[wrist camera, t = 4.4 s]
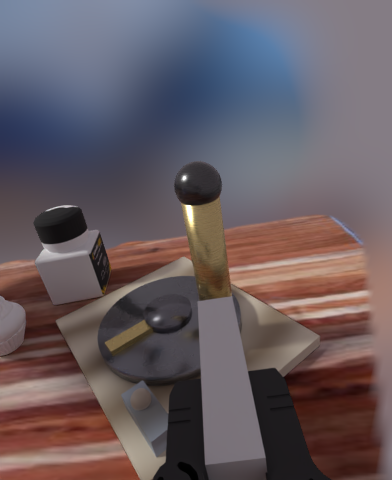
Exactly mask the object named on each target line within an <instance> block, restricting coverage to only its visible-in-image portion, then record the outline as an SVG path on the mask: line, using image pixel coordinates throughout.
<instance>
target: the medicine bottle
mask: <svg viewBox="0 0 392 480" xmlns="http://www.w3.org/2000/svg"><path fill="white" fill-rule="evenodd" d="M34 226H35V228H36V231H37V233H38V236H39V238H40V240H41V243H42V245H43V247H44V249H43V251H42V252H41V254H40V255H39V257H38V258H37V259H36V261H35V265H36V267H37V269H38V272H39V274H40V276H41V278H42V281H43V283H44V285H45V287H46V290H47V292H48V294H49V296H50V298H51V301H52V303H53V304H54V305H59V304H65V303H70V302H76V301H81V300H87V299H92V298H98V297H103V296H104V295H105V292H106V288H107V284H108V281H109V277H110V273H111V266H110V263H109V260H108V257H107V254H106V250H105V247H104V244H103V241H102V238H101V235H100V232H99V230H93V231H88V228H87V225H86V222H85V219H84V216H83V213H82V210H81V209H80V208H79V207H77V206H70V205H65V206H59V207H55V208H52V209H49V210H47V211H44V212H43V213H41V214H40V215H39V216H38V217H37V218H36V219H35V221H34Z"/></svg>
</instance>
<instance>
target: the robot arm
mask: <svg viewBox="0 0 392 480" xmlns="http://www.w3.org/2000/svg"><path fill="white" fill-rule="evenodd" d="M198 321H199V343H200V365H201V378H200V379H192V380H185V381H177V382H175V384H174V387H173V389H172V391H171V393H170V395H169V413H168V428H167V445H166V462H165V463H164V464H163V465H161V466H160V467H159V469H158V470H157V472H156V474H155V475H154V477H153V480H331V479H329V478H328V477H326V476H325V475H324V474H323V473H322V472H321V471H320V470H319V469H318V468H317V467H316V465H315V464H314V463H313V461H312V459H311V456H310V454H309V451H308V448H307V445H306V442H305V439H304V436H303V433H302V430H301V427H300V423H299V420H298V417H297V414H296V411H295V409H294V405H293V402H292V399H291V396H290V393H289V390H288V387H287V384H286V381H285V379H284V377H283V376H282V375H281V374H280V373H279V372H278V370H277V369H276V368H268V369H260V370H253V371H248V370H247V365H246V360H245V356H244V351H243V346H242V341H241V336H240V331H239V327H238V322H237V317H236V312H235V307H234V303H233V298H232V296H230V297H223V298H217V299H210V300H203V301H198Z"/></svg>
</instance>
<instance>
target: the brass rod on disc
mask: <svg viewBox="0 0 392 480" xmlns="http://www.w3.org/2000/svg"><path fill="white" fill-rule="evenodd" d="M174 187H175V193H176V195H177V197H178V199H179V200H180V202H181V204H182V210H183V216H184V220H185V226H186V231H187V237H188V242H189V248H190V253H191V259H192V264H193V269H194V275H195V276H175V277H168V278H164V279H159V280H156V281H153V282H150V283H147V284H145V285H142V286H140V287H138V288H136V289H134V290H132V291H131V292H129V293H128V294H126V295H125V296H123V297H122V298H121V299H119V300H118V301H117V302H116V303H115V304H114V305H113V306H112V307H111V308H110V309H109V310H108V312H107V313H106V315H105V316H104V318H103V320H102V322H101V324H100V327H99V330H98V336H97V339H98V346H99V350H100V352H101V355H102V357H103V360H104V362H105V364H106V365H107V366H108V368H109V369H110V370H111V371H112V372H113V373H114V374H116V375H117V376H119V377H120V378H122V379H124V380H126V381H129V382H132V383H135V384H138V383H139V382H141V381H142V380H143V381H144V383H145V384H146V385H148V386H164V385H170V384H175V382H177V381H185V380H190V379H192V378H195V377H197V376H199V375H201V365H200V343H199V321H198V301H203V300H210V299H217V298H223V297H230V296H232V298H233V303H234V307H235V312H236V317H237V322H238V327H239V331H240V332H241V326H242V321H241V311H240V306H239V302H238V300H237V298H236V297H235V295H234V294H233V293H232V291H231V283H230V275H229V267H228V260H227V252H226V244H225V236H224V228H223V221H222V213H221V205H220V197H219V196H220V193H221V190H222V181H221V178H220V175H219V173H218V172H217V170H216V169H215V168H214V167H213V166H211V165H210V164H207V163H205V162H201V161H196V162H191V163H189V164H187V165H185V166H183V167H182V168H181V169H180V171H179V172H178V173H177V175H176V178H175V183H174Z"/></svg>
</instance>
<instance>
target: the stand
mask: <svg viewBox="0 0 392 480" xmlns="http://www.w3.org/2000/svg"><path fill="white" fill-rule="evenodd" d="M175 276H195V275H194V269H193V264H192V261H191V260H189V259H187V258H185V257H182V258H180V259H178V260H176V261H174V262H172V263H170V264H168V265H166V266H164V267H162V268H160V269H158V270H156V271H154V272H152V273H150V274H148V275H146V276H144V277H142V278H140V279H138V280H136V281H134V282H132V283H130V284H128V285H126V286H124V287H122V288H120V289H118V290H116V291H114V292H112V293H110V294H108V295H106V296H103V297H101V298H99V299H97V300H95V301H93V302H91V303H89V304H87V305H85V306H83V307H81V308H79V309H77V310H75V311H73V312H71V313H69V314H67V315H65V316H63V317H61V318H59V319H57V320H55V321H56V323H57V325H58V327H59V329H60V331H61V333H62V335H63V337H64V339H65V340H66V342H67V344H68V346H69V348H70V350H71V352H72V353H73V355H74V357H75V359H76V361H77V363H78V365H79V366H80V368H81V370H82V372H83V374H84V376H85V378H86V379H87V381H88V383H89V385H90V387H91V389H92V391H93V392H94V394H95V396H96V398H97V400H98V402H99V404H100V405H101V407H102V409H103V411H104V413H105V415H106V417H107V418H108V420H109V422H110V424H111V426H112V428H113V430H114V431H115V433H116V435H117V437H118V439H119V441H120V443H121V444H122V446H123V448H124V450H125V452H126V454H127V456H128V457H129V459H130V461H131V463H132V465H133V467H134V469H135V470H136V472H137V474H138V476H139V478H140V480H153V477H154V475H155V474H156V472H157V470H158V469H159V467H160V466H161V465H163V464H164V463H165V462H166V445H167V428H168V413H169V395H170V393H171V391H172V389H173V387H174V384H170V385H164V386H148V385H146V384H145V383H144V381H143V380H142V381H141V382H139V383H138V384H135V383H132V382H129V381H126V380H124V379H122V378H120V377H119V376H117V375H116V374H114V373H113V372H112V371H111V370H110V369H109V368H108V366H107V365H106V364H105V362H104V360H103V357H102V355H101V352H100V350H99V346H98V339H97V336H98V330H99V327H100V324H101V322H102V320H103V318H104V316H105V315H106V313H107V312H108V310H109V309H110V308H111V307H112V306H113V305H114V304H115V303H116V302H117V301H118V300H119V299H121V298H122V297H123V296H125V295H126V294H128V293H129V292H131V291H132V290H134V289H136V288H138V287H140V286H142V285H145V284H147V283H150V282H153V281H156V280H159V279H164V278H168V277H175ZM231 291H232V293H233V294H234V295H235V297H236V298H237V300H238V302H239V306H240V311H241V321H242V326H241V332H240V336H241V341H242V346H243V351H244V356H245V360H246V365H247V370H248V371H253V370H260V369H268V368H276V369H277V370H278V372H279V373H280V374H281V375H282V376H283V377H284V376H285V375H286V374H287V373H289V372H290V371H291V370H292V369H293V368H294V367H296V366H297V365H298V364H299V363H300V362H301V361H302V360H304V359H305V358H306V357H307V356H308V355H309V354H310V353H312V352H313V351H314V350H315V349H316V348H317V347H318V346H320V336H319V335H318V334H316V333H314V332H312V331H311V330H309V329H307V328H306V327H304V326H302V325H300V324H299V323H297V322H295V321H294V320H292V319H290V318H288V317H287V316H285V315H283V314H282V313H280V312H278V311H276V310H275V309H273V308H271V307H270V306H268V305H266V304H264V303H263V302H261V301H259V300H257V299H256V298H254V297H252V296H251V295H249V294H247V293H245V292H244V291H242V290H240V289H239V288H237V287H235V286H233V285H232V284H231ZM200 378H201V375H199V376H197V377H195V378H192V379H200ZM192 379H190V380H192Z"/></svg>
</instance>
